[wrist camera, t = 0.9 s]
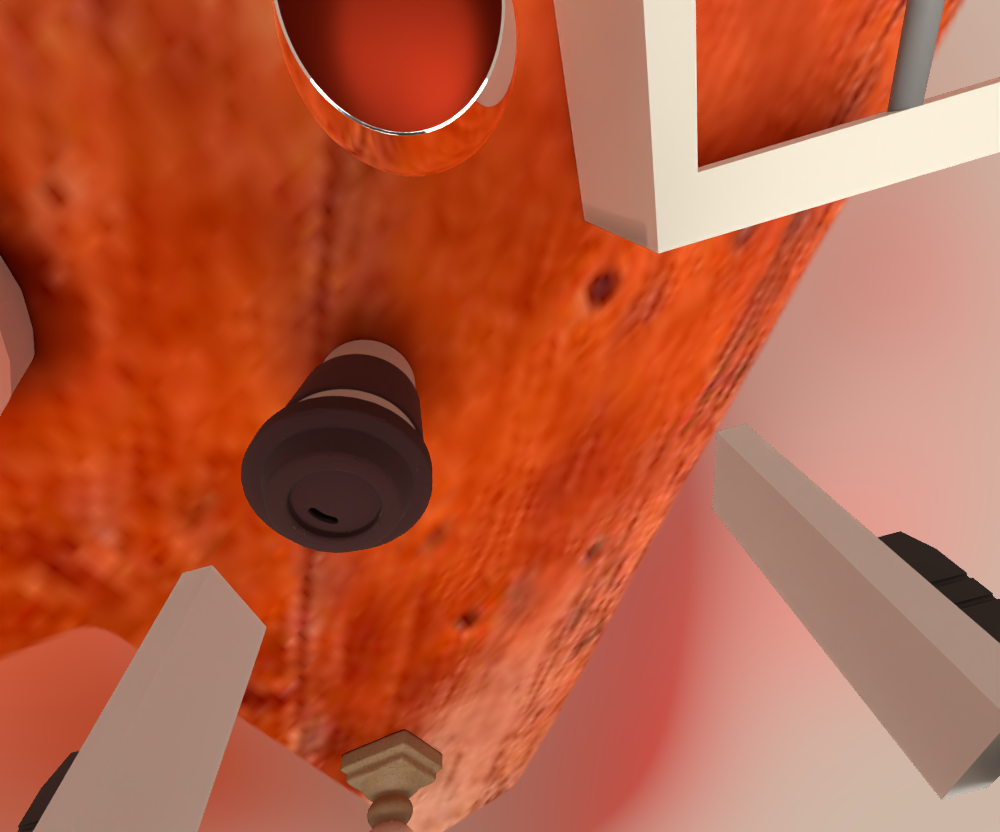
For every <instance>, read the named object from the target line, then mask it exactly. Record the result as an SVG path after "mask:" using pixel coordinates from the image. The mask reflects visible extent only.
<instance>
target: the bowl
mask: <svg viewBox="0 0 1000 832" xmlns="http://www.w3.org/2000/svg"><path fill="white" fill-rule="evenodd" d="M34 355H35V351H34V337H33V328H32V324H31V321H30V318H29V314H28V311H27V307H26V304H25V300H24V297H23V293H22V290H21V289H20V287H19V285H18V284H17V282H16V280H15V279H14V277H13V275H12V274H11V272H10V270H9V269H8V267H7V265H6V264H5V262H4V261H3V259H2V257H1V256H0V415H1V413H2V412H3V410H4V408H5V407H6V405H7V403H8V402H9V400H10V397H11V395H12V393H13V392H14V390H15V388H16V387H17V385H18V383H19V382H20V380H21V378H22V377H23V375H24V373H25V372H26V370H27V368H28V367H29V365H30V363H31V362H32V360H33V358H34Z"/></svg>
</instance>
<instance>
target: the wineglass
mask: <svg viewBox="0 0 1000 832" xmlns="http://www.w3.org/2000/svg"><path fill="white" fill-rule="evenodd" d="M272 6H273V13H274V20H275V25H276V30H277V35H278V39H279V43H280V47H281V50H282V54H283V57H284V60H285V63H286V66H287V68H288V71H289V73H290V76H291V78H292V80H293V83H294V85H295V87H296V89H297V91H298V93H299V95H300V97H301V98H302V100H303V102H304V103H305V105H306V107H307V108H308V110H309V111H310V113H311V114H312V116H313V117H314V118H315V120H316V121H317V122H318V124H319V125H320V126H321V127H322V128H323V130H324V131H325V132H326V133H327V134H328V135H329V136H330V137H331V138H332V139H333V140H334V141H335V142H336V143H337V144H338V145H339V146H340V147H342V148H343V149H344V150H345V151H347V152H348V153H349V154H351V155H352V156H354V157H355V158H357V159H358V160H360V161H362V162H363V163H365V164H367V165H369V166H371V167H374V168H376V169H379V170H381V171H384V172H387V173H391V174H396V175H401V176H427V175H433V174H437V173H441V172H444V171H446V170H449V169H451V168H453V167H455V166H457V165H459V164H461V163H462V162H464V161H465V160H467V159H468V158H469V157H471V156H472V155H473V154H474V153H475V152H477V151H478V150H479V149H480V148H481V147H482V146H483V144H484V143H485V142H486V141H487V140H488V138H489V137H490V136H491V134H492V133H493V132H494V130H495V129H496V127H497V125H498V123H499V122H500V120H501V118H502V116H503V114H504V112H505V109H506V107H507V104H508V102H509V99H510V96H511V92H512V89H513V85H514V80H515V75H516V69H517V61H518V46H519V34H518V19H517V11H516V4H515V0H272Z"/></svg>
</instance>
